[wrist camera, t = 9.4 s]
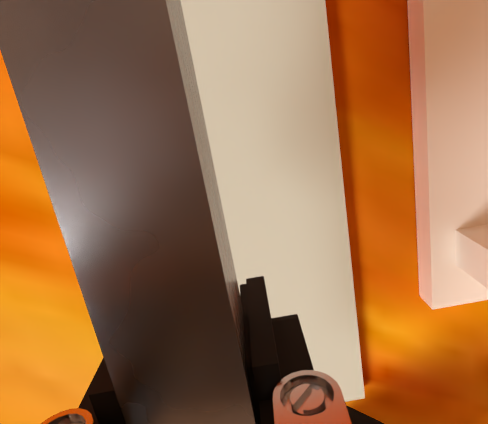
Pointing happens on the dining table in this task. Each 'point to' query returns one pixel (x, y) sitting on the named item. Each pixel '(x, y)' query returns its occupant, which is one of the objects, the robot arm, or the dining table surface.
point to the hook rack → (450, 147)
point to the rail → (135, 199)
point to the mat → (281, 165)
